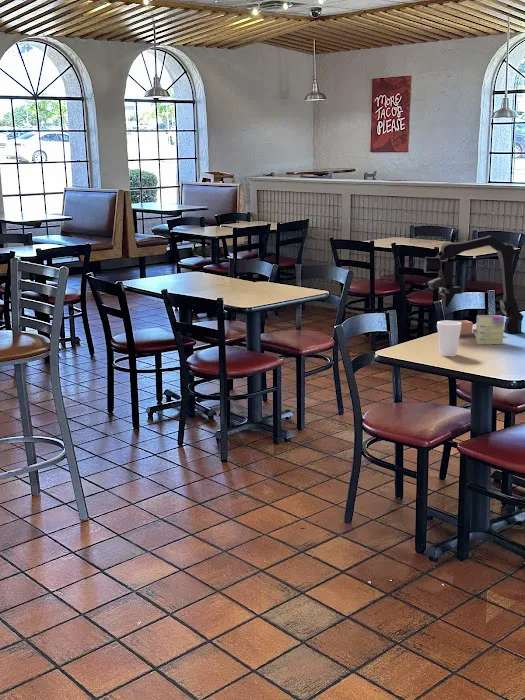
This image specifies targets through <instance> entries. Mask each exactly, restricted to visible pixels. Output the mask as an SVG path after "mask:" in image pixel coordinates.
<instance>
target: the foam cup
mask: <svg viewBox="0 0 525 700" xmlns="http://www.w3.org/2000/svg"><path fill="white" fill-rule="evenodd" d="M458 321H459V320H440V321H439V320H438V321H437V322H436V329H437V337H438V347H439V348H438V350H439V355H440V356H441V355H443V356H442V357H447V356H451V357H456V356H457V353H458V348H459V343H460V338H459V337H460V331H461V325H462V323H461V322H458Z"/></svg>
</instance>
